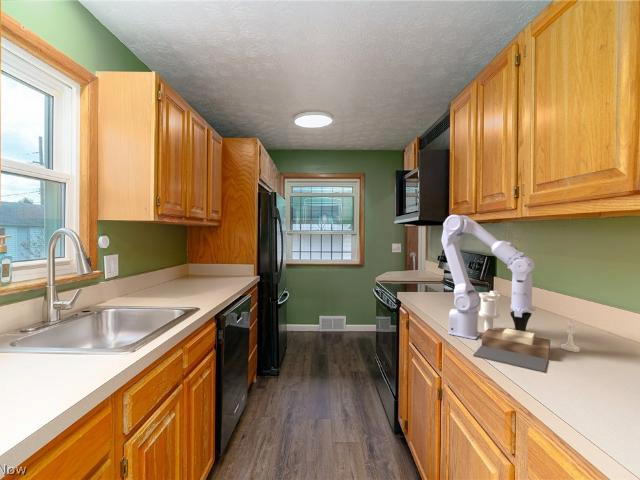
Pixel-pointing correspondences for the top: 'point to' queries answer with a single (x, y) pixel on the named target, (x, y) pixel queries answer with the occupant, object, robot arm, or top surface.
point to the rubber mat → (512, 358)
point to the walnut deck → (516, 344)
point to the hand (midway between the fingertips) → (520, 334)
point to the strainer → (489, 308)
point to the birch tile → (518, 336)
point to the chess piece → (570, 339)
